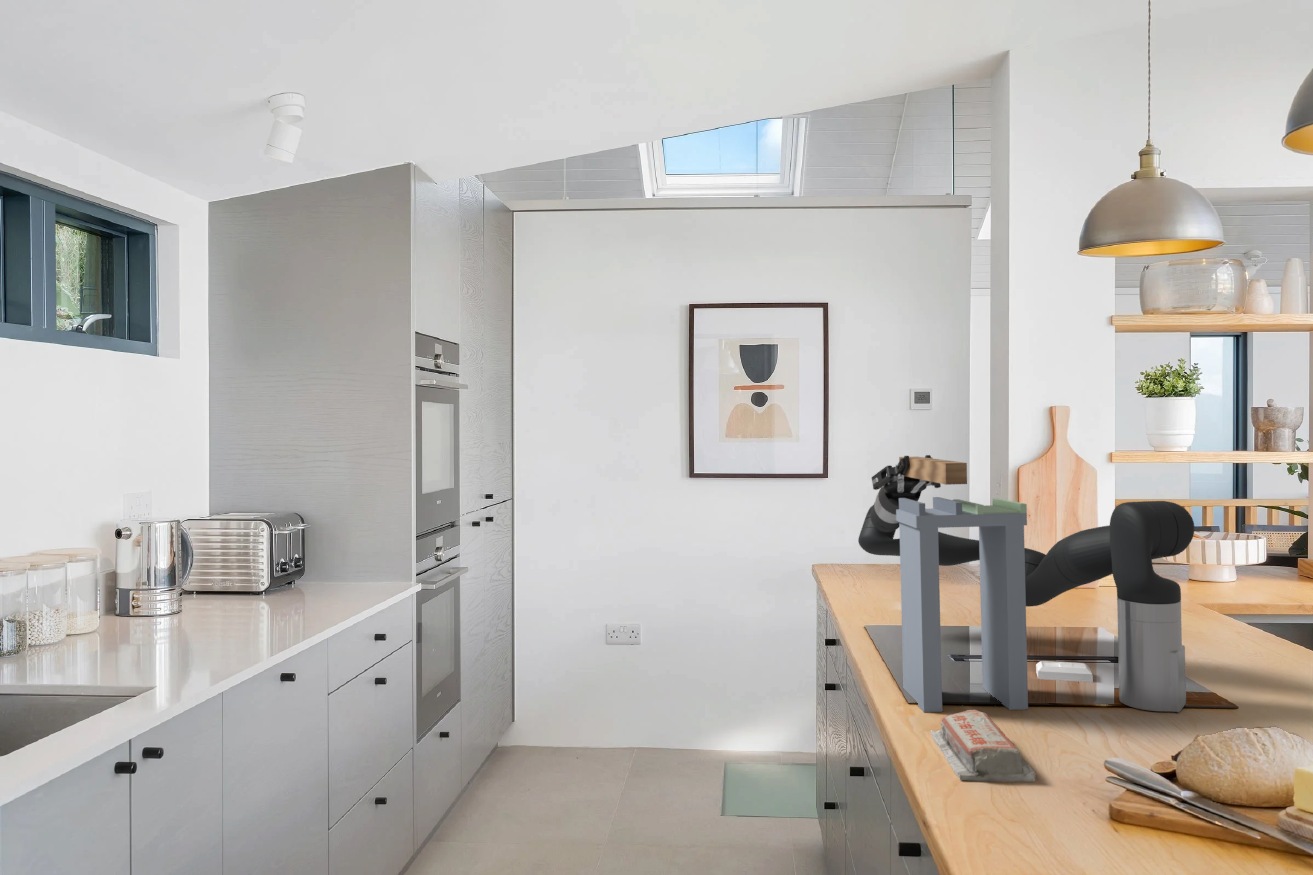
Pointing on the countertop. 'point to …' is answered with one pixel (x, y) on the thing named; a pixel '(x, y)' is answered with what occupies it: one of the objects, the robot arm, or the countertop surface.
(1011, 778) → the packaged product
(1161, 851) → the countertop surface
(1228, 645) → the countertop surface
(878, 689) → the countertop surface
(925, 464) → the wooden square beam
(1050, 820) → the countertop surface
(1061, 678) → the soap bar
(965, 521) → the bridge
